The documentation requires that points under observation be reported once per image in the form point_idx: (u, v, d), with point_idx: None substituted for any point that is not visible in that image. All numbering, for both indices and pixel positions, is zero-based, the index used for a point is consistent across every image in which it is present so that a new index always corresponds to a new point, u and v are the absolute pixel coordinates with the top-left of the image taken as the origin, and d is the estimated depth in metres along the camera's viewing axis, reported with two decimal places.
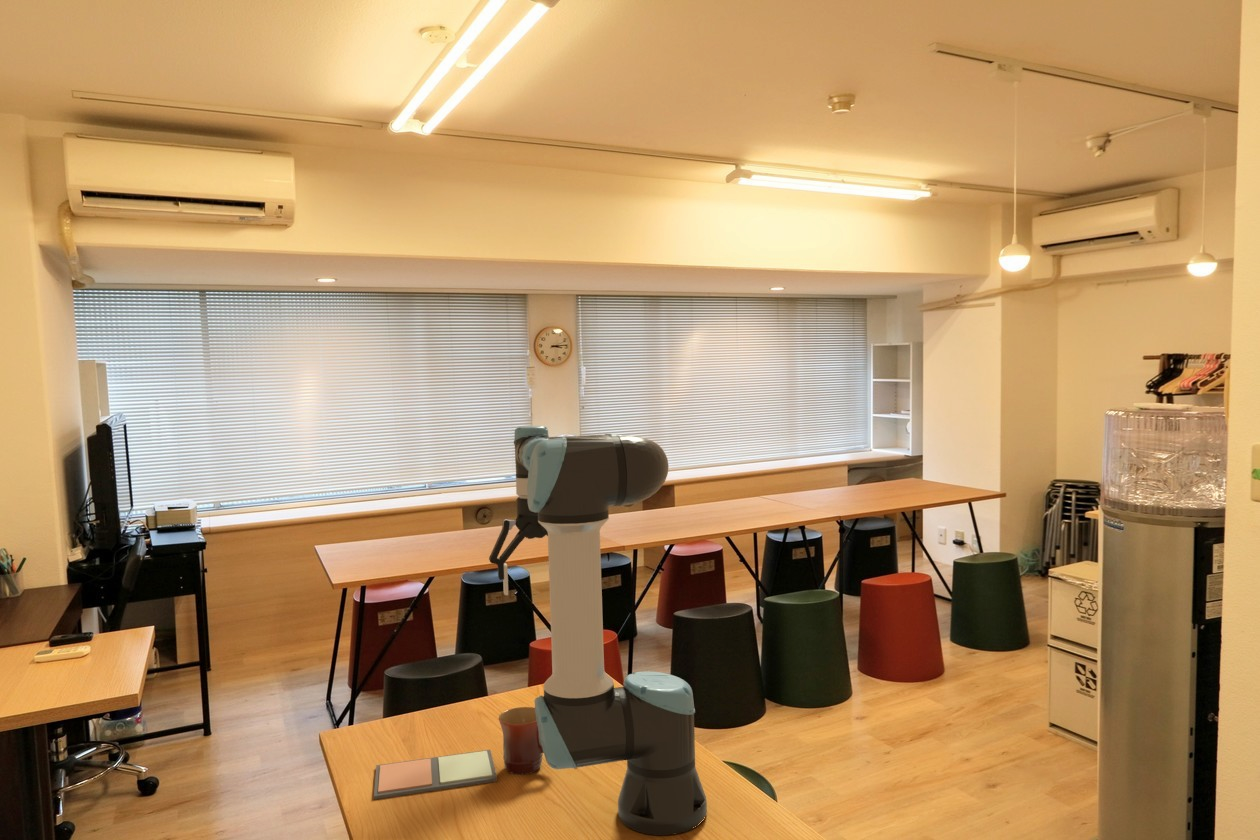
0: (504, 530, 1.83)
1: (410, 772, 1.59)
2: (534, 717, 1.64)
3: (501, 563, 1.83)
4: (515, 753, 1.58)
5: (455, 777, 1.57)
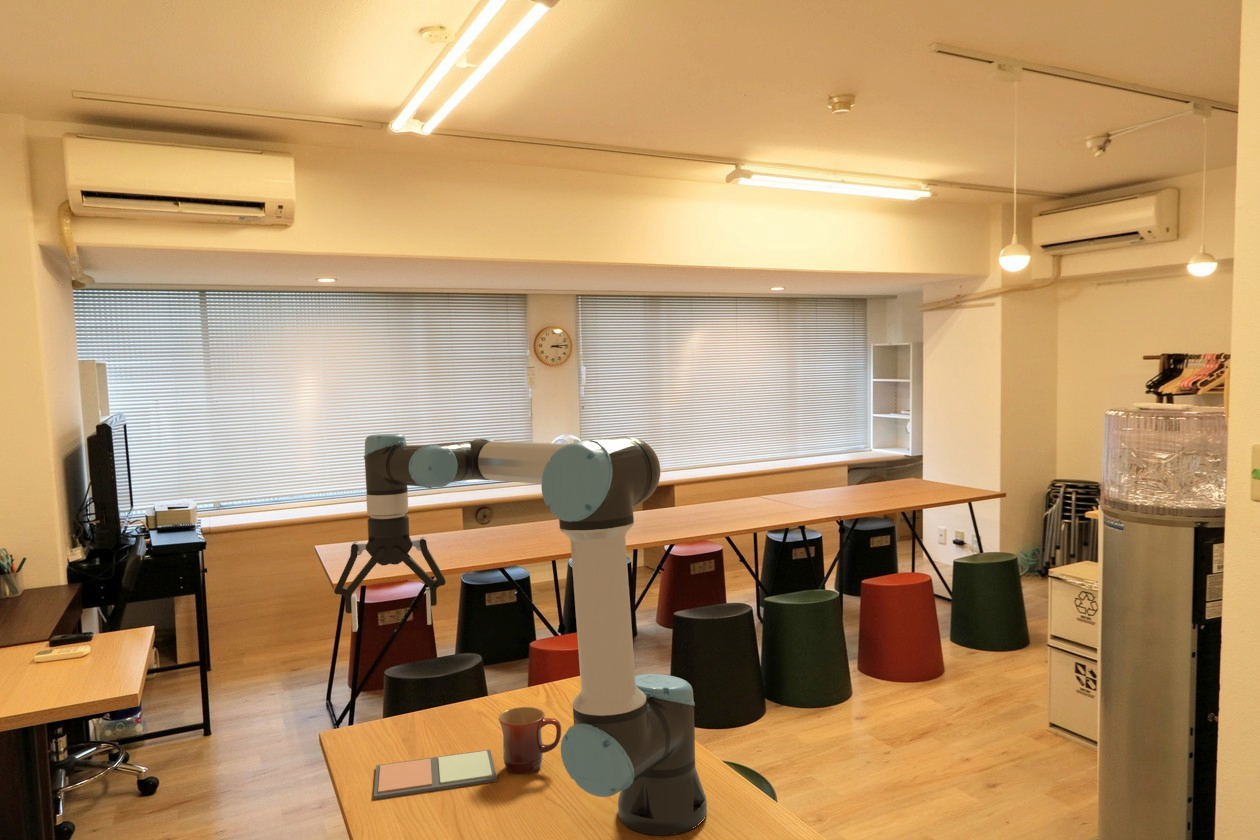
0: (351, 555, 1.57)
1: (410, 772, 1.59)
2: (534, 717, 1.64)
3: (348, 594, 1.57)
4: (515, 753, 1.58)
5: (455, 777, 1.57)
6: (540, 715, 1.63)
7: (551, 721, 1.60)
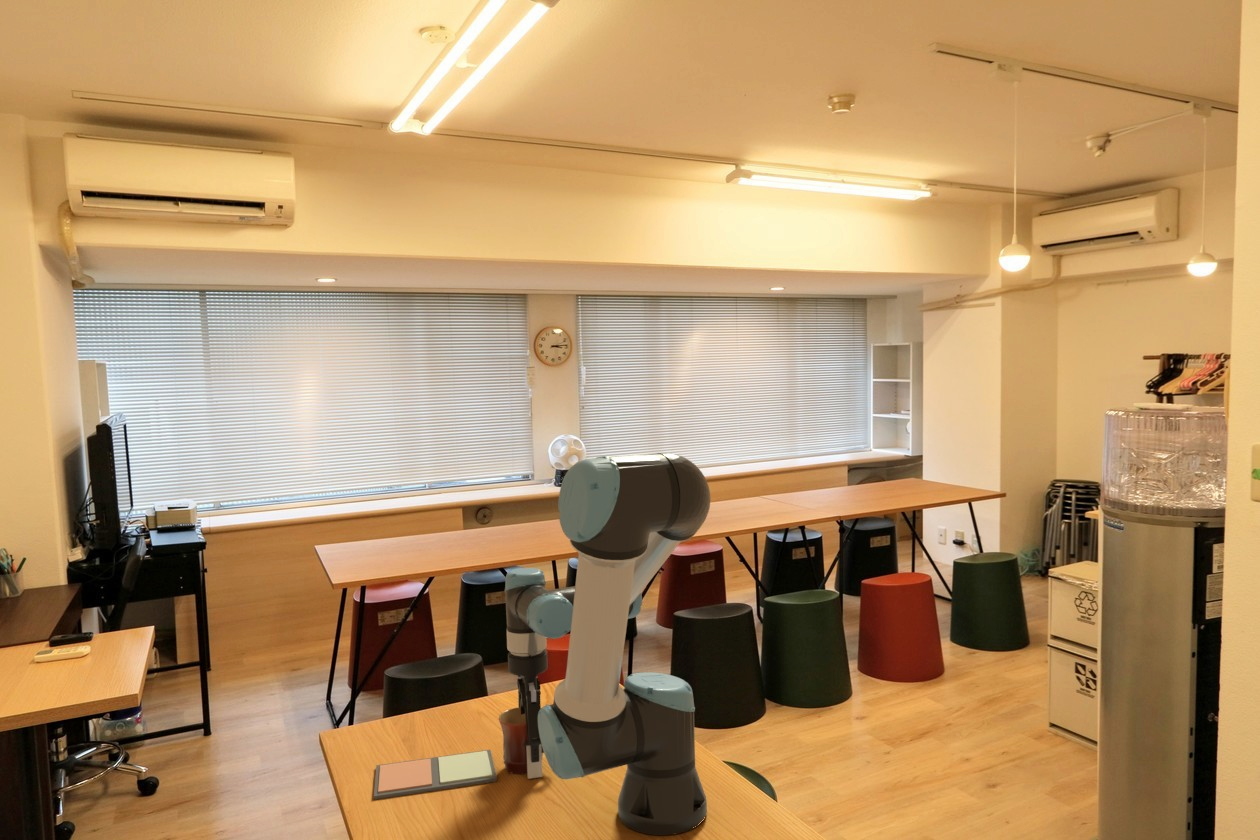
0: None
1: (410, 772, 1.59)
2: None
3: None
4: (515, 753, 1.58)
5: (455, 777, 1.57)
6: None
7: None
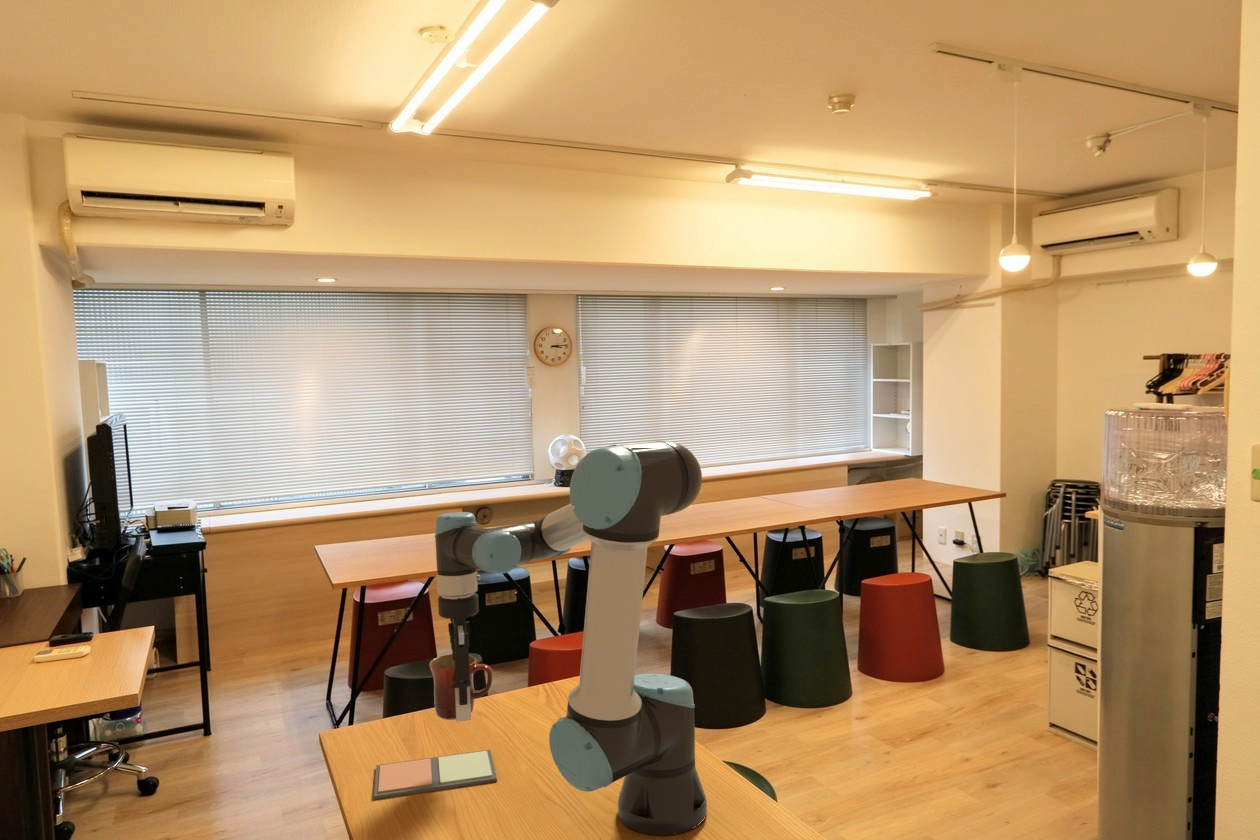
0: None
1: (410, 772, 1.59)
2: None
3: None
4: (445, 698, 1.57)
5: (455, 777, 1.57)
6: (472, 661, 1.62)
7: (482, 666, 1.59)
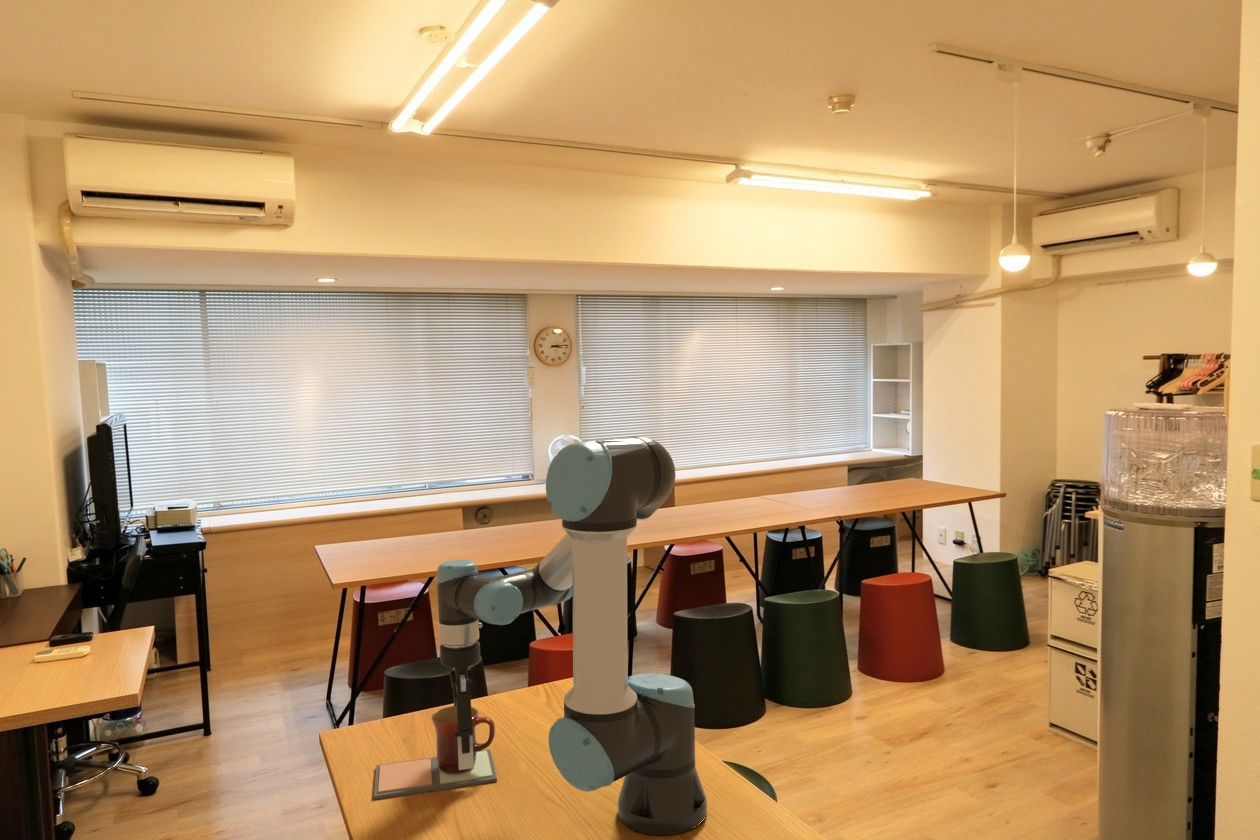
0: None
1: (410, 772, 1.59)
2: None
3: None
4: (447, 752, 1.57)
5: (455, 777, 1.57)
6: (474, 714, 1.62)
7: (484, 720, 1.60)
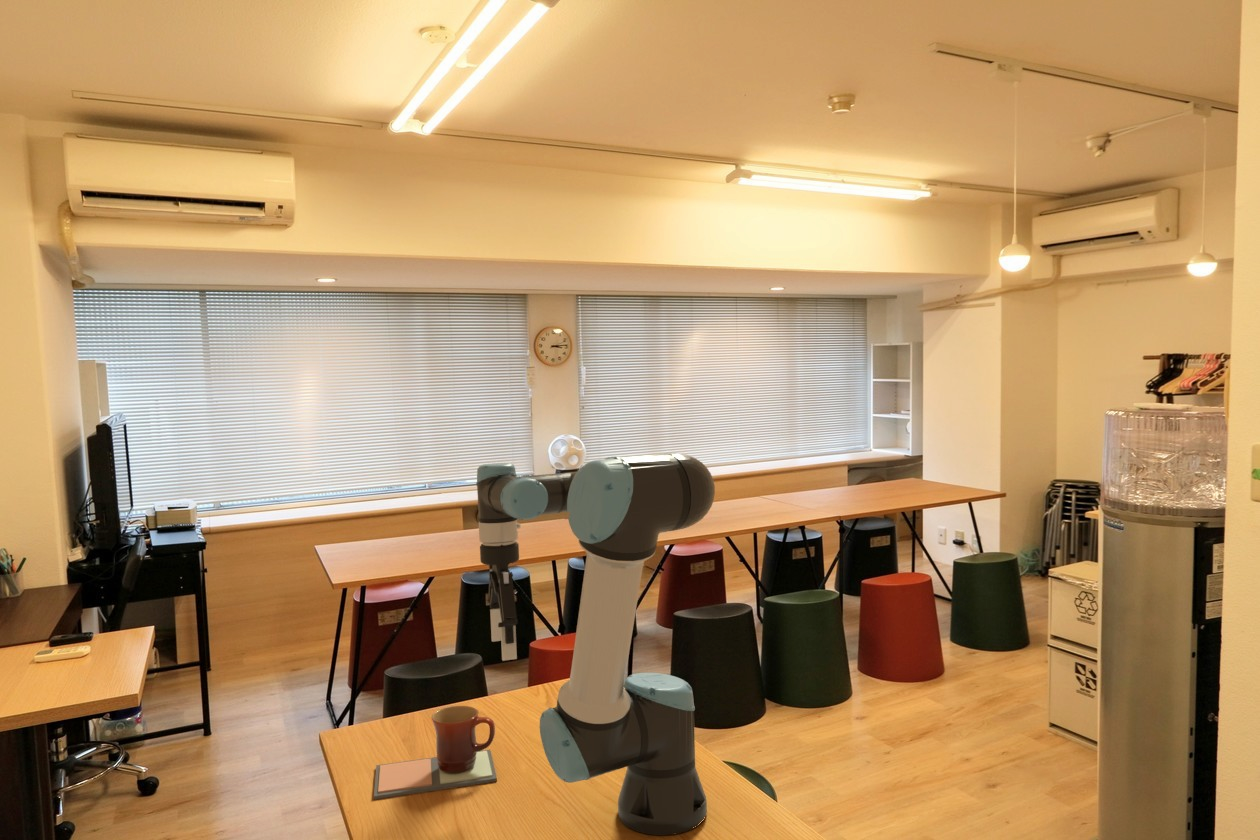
0: None
1: (410, 772, 1.59)
2: (469, 716, 1.63)
3: (490, 605, 1.72)
4: (447, 752, 1.57)
5: (455, 777, 1.57)
6: (474, 714, 1.62)
7: (484, 720, 1.60)
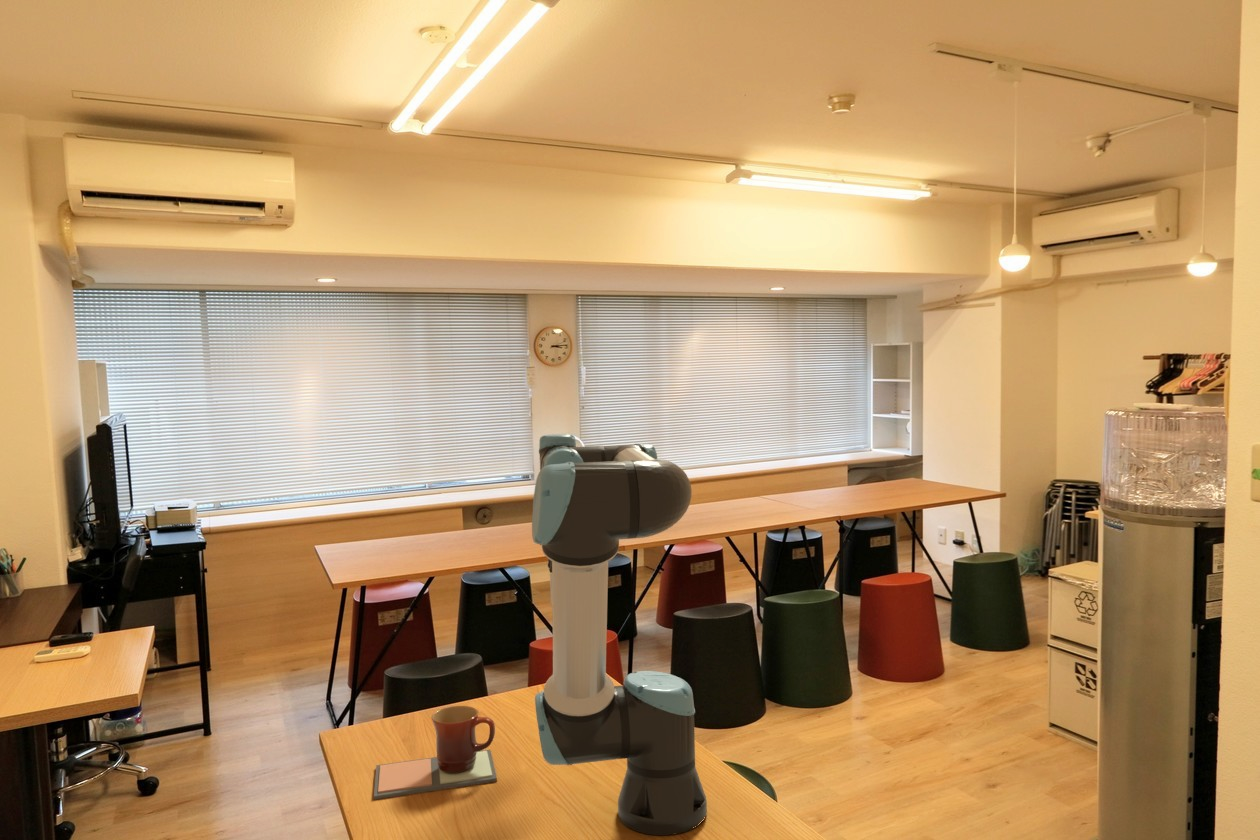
0: None
1: (410, 772, 1.59)
2: (469, 716, 1.63)
3: (549, 570, 1.80)
4: (447, 752, 1.57)
5: (455, 777, 1.57)
6: (474, 714, 1.62)
7: (484, 720, 1.60)
